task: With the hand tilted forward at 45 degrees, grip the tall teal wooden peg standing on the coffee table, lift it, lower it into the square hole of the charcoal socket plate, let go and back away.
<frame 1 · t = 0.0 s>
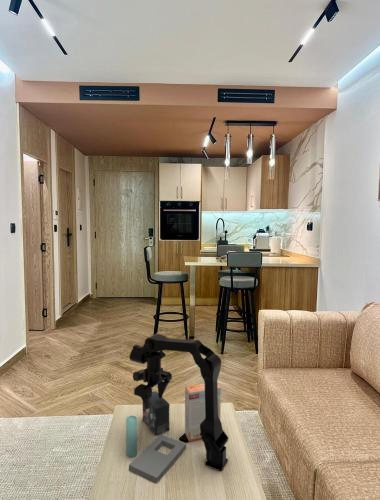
hand: (153, 403, 134), 15 cm above the table, tool pointing down, fingers open, 9 cm apart
socket plate: (158, 458, 124), on the table
small box: (155, 425, 144), on the table
cracker box: (202, 434, 138), on the table
peg: (131, 453, 126), on the table
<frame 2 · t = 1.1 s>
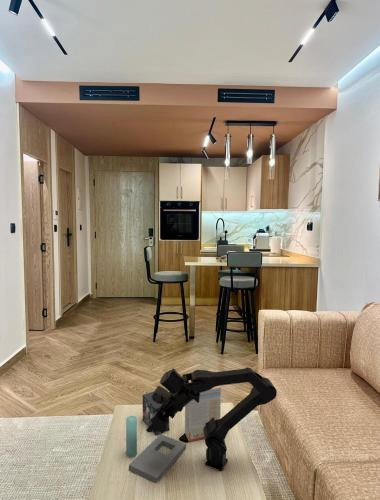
hand: (151, 423, 123), 13 cm above the table, tool tilted 45°, fingers open, 9 cm apart
nothing on the table moved.
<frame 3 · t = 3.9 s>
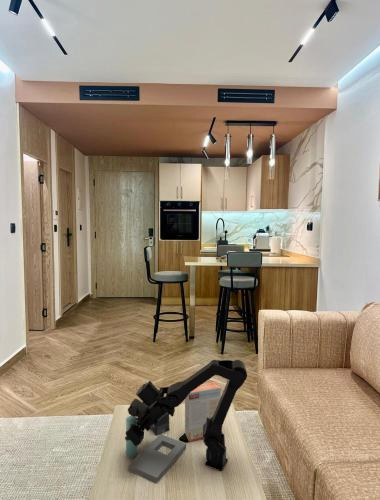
hand: (128, 435, 126), 7 cm above the table, tool tilted 45°, fingers closed on peg, 4 cm apart
peg: (131, 453, 126), on the table, touching gripper
everything else where it was.
when the fingers open (8 cm above the table, at t = 7.6 s): peg drops 1 cm, resting in socket plate.
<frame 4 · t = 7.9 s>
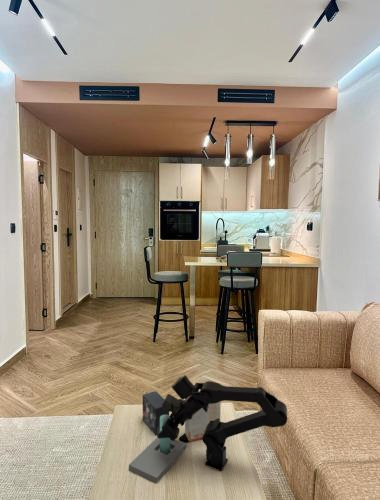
hand: (161, 430, 127), 9 cm above the table, tool tilted 45°, fingers open, 8 cm apart
peg: (164, 452, 127), resting in socket plate
everything else where it was.
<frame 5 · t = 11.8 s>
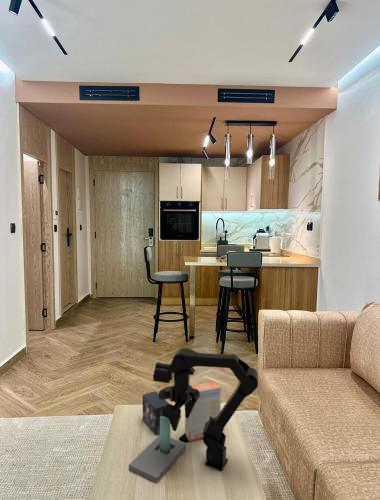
hand: (181, 424, 124), 13 cm above the table, tool pointing down, fingers open, 9 cm apart
nothing on the table moved.
at the end: peg 0.1 cm from the target spot on the socket plate, point 0.0 cm above the socket plate's base; peg tilted 0°; the gripper is holding nothing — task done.
